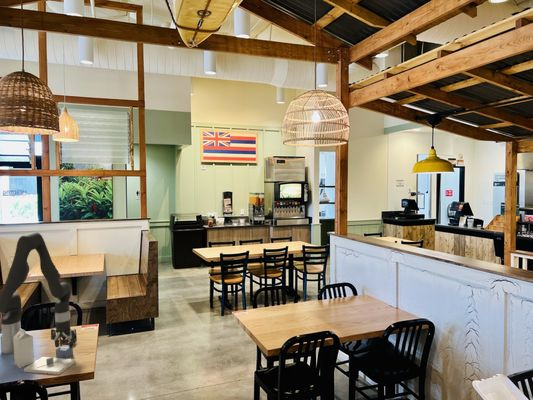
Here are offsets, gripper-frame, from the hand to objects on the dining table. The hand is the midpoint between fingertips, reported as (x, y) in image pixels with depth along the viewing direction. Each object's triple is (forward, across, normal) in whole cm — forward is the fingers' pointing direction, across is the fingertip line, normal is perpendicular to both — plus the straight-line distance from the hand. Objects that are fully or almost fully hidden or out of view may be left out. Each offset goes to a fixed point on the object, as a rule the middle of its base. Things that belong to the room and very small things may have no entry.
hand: (64, 347), depth 214 cm
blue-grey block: (+6, 0, 0) cm, 6 cm away
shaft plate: (+6, 0, -11) cm, 12 cm away
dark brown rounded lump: (+6, -11, +17) cm, 21 cm away
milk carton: (+6, -17, -10) cm, 20 cm away
